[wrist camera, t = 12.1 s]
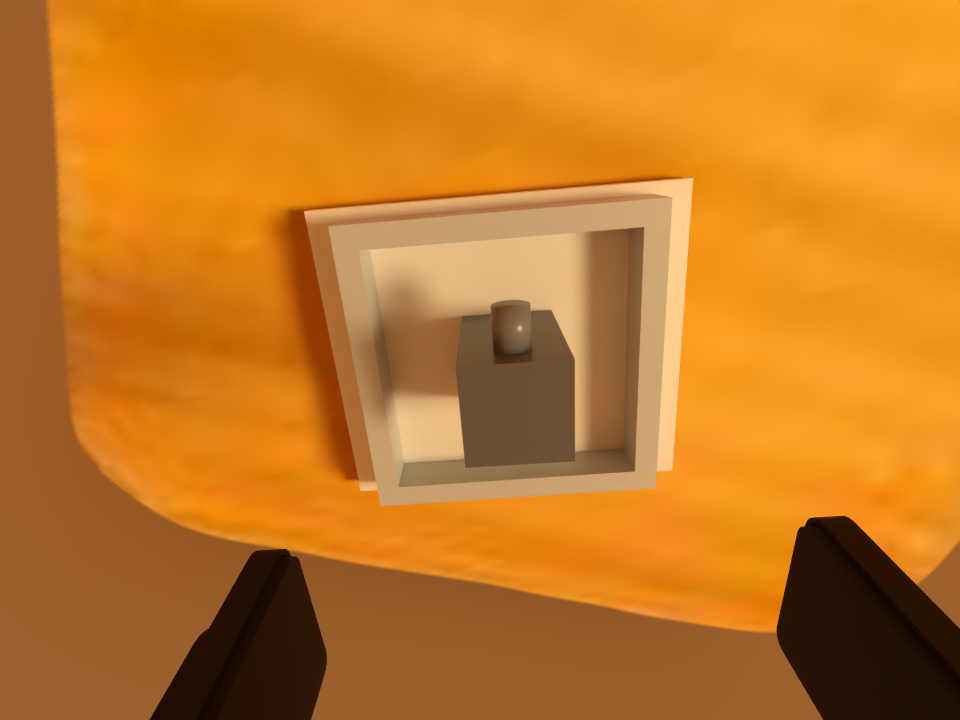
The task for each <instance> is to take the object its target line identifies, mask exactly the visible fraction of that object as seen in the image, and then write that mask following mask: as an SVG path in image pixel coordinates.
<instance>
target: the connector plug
mask: <svg viewBox="0 0 960 720" xmlns="http://www.w3.org/2000/svg"><path fill="white" fill-rule="evenodd" d="M490 308H491V314H486V315H471V316H462V321H461V329H460V336H459V344H458V352H457V360H456V376H457V387H458V397H459V407H460V418H461V428H462V438H463V449H464V459H465V468H472V467H489V466H506V465H523V464H540V463H557V462H574V461H575V358H574V356H573V354H572V352H571V350H570V348H569V346H568V344H567V342H566V340H565V337H564V335H563V333H562V331H561V329H560V327H559V325H558V323H557V321H556V319H555V316H554V314H553V312H552V310H544V311H531V310H530V303H529V302H527V301H523V300H504V301H499V302H496V303H493V304H492V305H491V306H490Z"/></svg>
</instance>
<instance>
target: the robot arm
mask: <svg viewBox="0 0 960 720" xmlns="http://www.w3.org/2000/svg"><path fill="white" fill-rule="evenodd" d="M777 637H778V641H779V644H780V647H781V649H782V651H783V653H784V654H785V656H786V658H787V659H788V661H789V663H790V664H791V666H792V668H793V669H794V671H795V673H796V675H797V676H798V678H799V680H800V681H801V683H802V684H803V686H804V688H805V690H806V691H807V693H808V695H809V696H810V698H811V700H812V701H813V703H814V705H815V706H816V708H817V710H818V711H819V713H820V715H821V717H822V718H823V720H960V629H959V628H958V627H957V626H956V625H955V624H954V623H953V622H952V621H951V619H949V617H948V616H946V614H945V613H944V612H943V611H942V610H941V609H940V608H938V606H937V605H936V604H935V603H934V602H933V601H932V600H931V599H930V598H929V597H928V596H927V595H926V594H925V593H924V592H923V591H922V590H921V589H920V588H919V587H918V586H917V585H916V584H915V583H914V582H913V581H912V580H911V579H910V578H909V577H908V576H907V575H906V574H905V573H904V572H903V571H902V570H901V569H900V568H899V567H898V566H897V565H896V564H895V563H894V562H893V561H892V560H891V559H890V558H889V557H888V556H887V555H886V554H885V553H884V552H883V551H882V550H881V549H880V547H879V546H878V545H877V544H876V543H875V542H874V541H873V540H872V539H871V538H870V537H869V536H868V535H867V534H866V533H865V532H864V531H863V530H862V529H861V528H860V527H859V526H858V525H857V524H856V523H855V522H854V521H852V520H851V519H850V518H848V517H846V516H834V517H817V518H810V519H809V520H808V521H807V522H806V525H805V527H800V528H799V530H798V532H797V537H796V541H795V546H794V551H793V555H792V560H791V564H790V569H789V574H788V578H787V583H786V587H785V592H784V597H783V601H782V606H781V610H780V615H779V620H778V624H777ZM326 663H327V654H326V649H325V646H324V642H323V639H322V636H321V632H320V629H319V625H318V622H317V619H316V615H315V612H314V608H313V605H312V602H311V598H310V595H309V592H308V588H307V585H306V581H305V578H304V575H303V572H302V568H301V565H300V562H299V559H298V558H297V557H291V555H290V553H289V551H288V550H287V549H278V550H261V551H255V552H253V553H252V555H251V556H250V557H249V559H248V561H247V563H246V564H245V566H244V568H243V569H242V571H241V573H240V575H239V577H238V578H237V580H236V582H235V584H234V585H233V587H232V589H231V591H230V593H229V594H228V596H227V598H226V600H225V601H224V603H223V605H222V607H221V608H220V610H219V612H218V614H217V615H216V617H215V619H214V621H213V623H212V624H211V626H210V628H209V629H207V630H206V631H204V632H203V633H202V634H201V635H200V636H199V637H198V639H197V640H196V642H195V643H194V644H193V646H192V648H191V649H190V651H189V653H188V655H187V656H186V658H185V660H184V661H183V663H182V665H181V667H180V668H179V670H178V672H177V674H176V675H175V677H174V679H173V680H172V682H171V684H170V686H169V687H168V689H167V691H166V693H165V694H164V696H163V698H162V700H161V701H160V703H159V704H158V706H157V708H156V710H155V711H154V713H153V715H152V717H151V718H150V720H311V718H312V714H313V711H314V708H315V704H316V701H317V698H318V694H319V691H320V688H321V685H322V681H323V678H324V674H325V670H326Z"/></svg>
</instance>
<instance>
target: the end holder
mask: <svg viewBox="0 0 960 720" xmlns="http://www.w3.org/2000/svg"><path fill="white" fill-rule="evenodd" d="M692 186H693V178H685V177H683V178H671V179H659V180H648V181H636V182H624V183H613V184H601V185H589V186H578V187H566V188H554V189H543V190H531V191H519V192H508V193H496V194H484V195H473V196H461V197H449V198H438V199H426V200H414V201H403V202H391V203H379V204H368V205H356V206H345V207H333V208H321V209H311V210H307V211H304V215H305V220H306V224H307V229H308V234H309V239H310V244H311V249H312V254H313V259H314V264H315V269H316V274H317V278H318V283H319V288H320V293H321V298H322V303H323V308H324V313H325V318H326V323H327V328H328V333H329V337H330V342H331V347H332V352H333V357H334V362H335V367H336V372H337V377H338V382H339V387H340V391H341V396H342V401H343V406H344V411H345V416H346V421H347V426H348V431H349V436H350V441H351V445H352V450H353V455H354V460H355V465H356V470H357V475H358V480H359V485H360V490H361V491H372V490H378V495H379V500H380V505H381V506H391V505H406V504H421V503H437V502H452V501H467V500H482V499H498V498H513V497H528V496H543V495H559V494H574V493H589V492H604V491H620V490H635V489H650V488H656V476H657V471H672V468H673V454H674V439H675V425H676V411H677V397H678V383H679V369H680V355H681V341H682V327H683V313H684V299H685V285H686V271H687V256H688V242H689V228H690V214H691V200H692ZM504 300H523V301H527V302H529V303H530V310H531V311H544V310H552V312H553V314H554V316H555V319H556V321H557V323H558V325H559V327H560V329H561V331H562V333H563V335H564V337H565V340H566V342H567V344H568V346H569V348H570V350H571V352H572V354H573V356H574V358H575V461H574V462H557V463H540V464H523V465H506V466H489V467H472V468H465V459H464V449H463V438H462V428H461V418H460V407H459V397H458V387H457V376H456V360H457V352H458V344H459V336H460V329H461V321H462V316H471V315H486V314H491V308H490V306H491V305H492V304H493V303H496V302H499V301H504Z"/></svg>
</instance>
